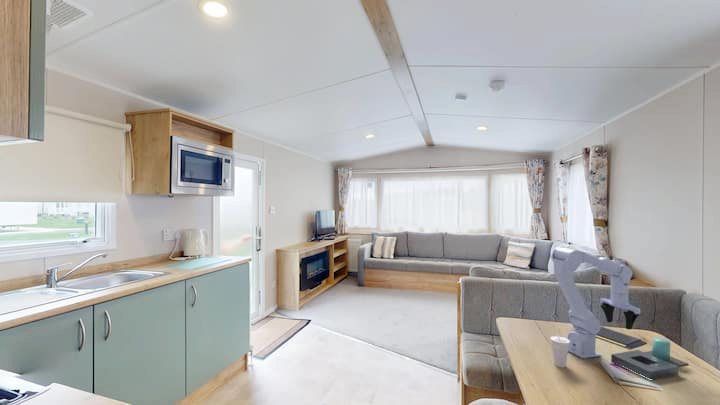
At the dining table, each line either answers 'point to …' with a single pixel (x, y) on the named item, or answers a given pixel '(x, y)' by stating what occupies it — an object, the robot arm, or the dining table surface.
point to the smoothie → (560, 350)
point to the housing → (645, 364)
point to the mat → (672, 360)
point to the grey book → (619, 338)
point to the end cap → (661, 349)
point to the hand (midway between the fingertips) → (619, 325)
